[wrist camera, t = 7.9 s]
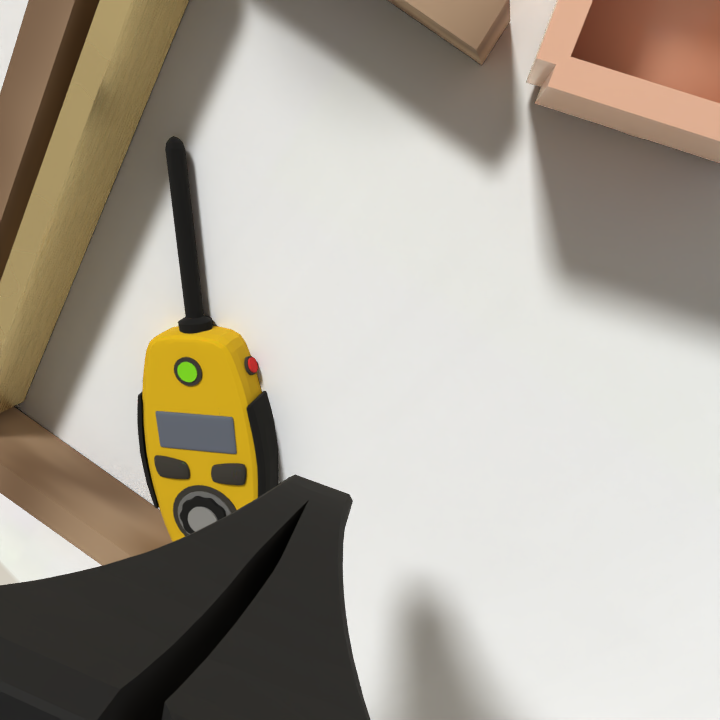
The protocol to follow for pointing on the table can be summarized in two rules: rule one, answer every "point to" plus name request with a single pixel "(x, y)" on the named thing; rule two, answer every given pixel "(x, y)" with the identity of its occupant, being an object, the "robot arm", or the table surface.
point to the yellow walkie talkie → (201, 401)
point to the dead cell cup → (636, 69)
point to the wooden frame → (3, 218)
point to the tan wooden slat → (78, 176)
